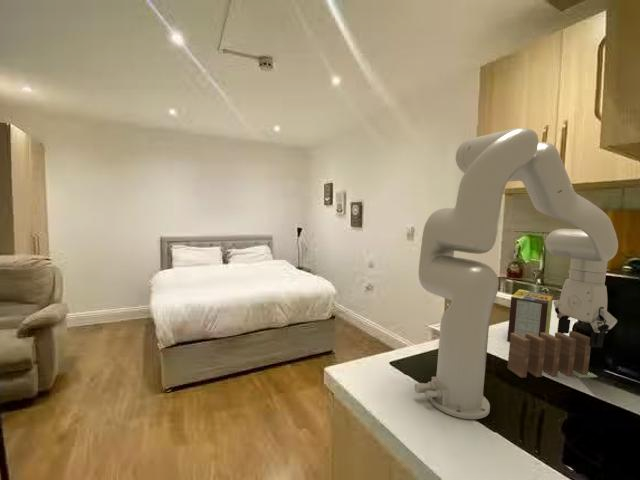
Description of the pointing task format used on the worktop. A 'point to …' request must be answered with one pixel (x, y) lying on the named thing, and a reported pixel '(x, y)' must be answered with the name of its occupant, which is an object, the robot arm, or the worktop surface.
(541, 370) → the domino
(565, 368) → the domino
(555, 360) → the domino
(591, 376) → the pad
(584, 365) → the domino
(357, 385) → the worktop surface
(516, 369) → the domino
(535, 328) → the protein box
